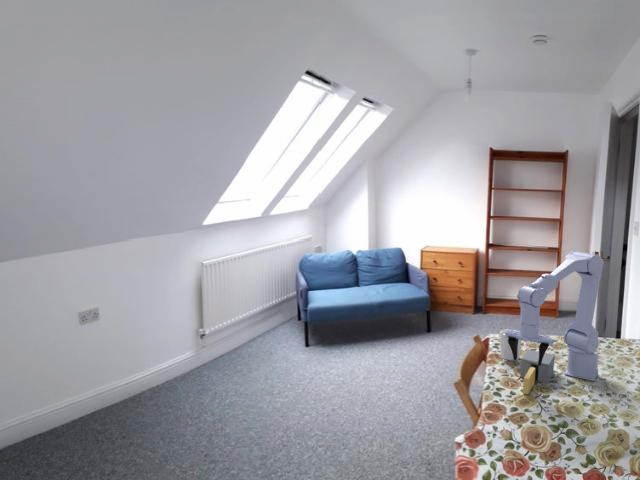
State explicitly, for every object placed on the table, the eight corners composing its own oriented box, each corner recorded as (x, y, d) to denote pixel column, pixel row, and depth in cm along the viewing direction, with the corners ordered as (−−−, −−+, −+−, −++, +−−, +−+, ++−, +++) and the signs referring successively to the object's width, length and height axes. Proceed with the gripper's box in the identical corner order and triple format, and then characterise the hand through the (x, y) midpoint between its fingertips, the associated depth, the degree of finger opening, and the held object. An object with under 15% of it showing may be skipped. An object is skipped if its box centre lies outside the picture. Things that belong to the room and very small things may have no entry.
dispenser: (553, 372, 172) (554, 354, 170) (547, 384, 163) (548, 365, 162) (526, 367, 177) (527, 349, 176) (519, 377, 168) (520, 359, 167)
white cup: (522, 362, 181) (524, 336, 180) (500, 360, 183) (501, 335, 181) (518, 353, 189) (519, 329, 187) (497, 352, 190) (498, 328, 189)
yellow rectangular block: (534, 383, 163) (535, 367, 163) (527, 394, 155) (528, 378, 155) (529, 381, 164) (530, 366, 163) (523, 393, 156) (523, 377, 155)
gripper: (503, 322, 158) (501, 361, 161) (551, 330, 150) (549, 370, 152) (508, 316, 164) (507, 354, 166) (555, 323, 156) (552, 363, 158)
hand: (527, 361), depth 160 cm, fingers open, 7 cm apart
